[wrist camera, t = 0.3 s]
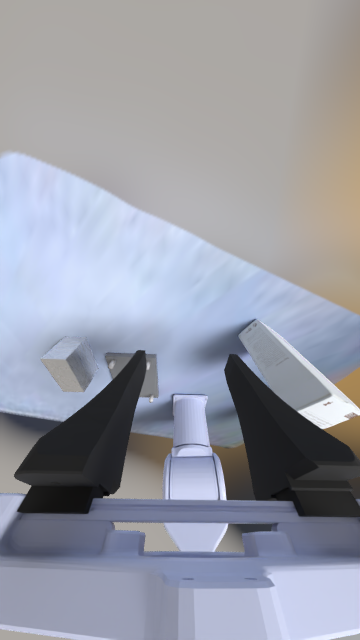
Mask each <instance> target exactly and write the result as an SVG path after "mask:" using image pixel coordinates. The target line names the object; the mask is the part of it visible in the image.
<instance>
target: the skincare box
mask: <svg viewBox="0 0 360 640" xmlns="http://www.w3.org/2000/svg"><path fill="white" fill-rule="evenodd" d="M238 337H239V339H240V340H241V342H242V343H243V345H244V346H245V348H246V350H247V351H248V353H249V354H250V356H251V357H252V359H253V361H254V362H255V364H256V365H257V367H258V369H259V370H260V372H261V373H262V375H263V376H264V378H265V380H266V381H267V383H268V384H269V386H270V387H271V389H272V391H273V392H274V393H275V394H276V395H277V396H279V397H280V398H281V399H282V400H283V401H284V402H286V403H287V404H288V405H289V406H291V407H292V408H293V409H295V410H296V411H297V412H299V413H300V414H301V415H303V416H304V417H305V418H307V419H308V420H309V421H311V422H312V423H314V424H315V425H317V426H318V427H319V428H321V429H324V428H327V427H330V426H333V425H336V424H338V423H341V422H343V421H346V420H349V419H351V418H354V417H356V416H358V415H360V409H359V408H358V407H357V406H356V405H355V404H354V403H353V402H352V401H351V400H350V399H349V398H347V397H346V396H345V395H344V394H343V393H342V392H341V391H340V390H339V389H338V388H337V387H336V386H335V385H333V384H332V383H331V382H330V381H329V380H328V379H327V378H326V377H325V376H324V375H323V374H322V373H321V372H319V371H318V370H317V369H316V368H315V367H314V366H313V365H312V364H311V363H310V362H309V361H307V360H306V359H305V358H304V357H303V356H302V355H301V354H300V353H299V352H298V351H297V350H296V349H294V348H293V347H292V346H291V345H290V344H289V343H288V342H287V341H286V340H285V339H284V338H283V337H281V336H280V335H279V334H278V333H276V332H275V331H274V330H272V329H271V328H269V327H268V326H267V325H265V324H264V323H263V322H261V321H260V320H258V319H256V320H255V321H254V322H252V323H251V324H250V325H249V326H248V327H246V328H245V329H244V330H243V331H242V332H241V333H240V334H239V335H238Z"/></svg>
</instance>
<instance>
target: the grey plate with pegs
mask: <svg viewBox="0 0 360 640" xmlns="http://www.w3.org/2000/svg"><path fill="white" fill-rule="evenodd" d="M133 355H134V354H123V353H107V354H106V356H105V357H106V360H107V363H108V368H109V369H110V372H111V375H112V378H113V379H114V378H115V377H116V376H117V375H118V374H119V373H120V371H121V370H122V369H123V368H124V367H125V366H126V364H127V363H128V362H129V361H130V359H131V358H132V357H133ZM146 364H147V369H146V374H145V379H144V382H143V386H142V389H141V392H140V395H139V397H150V399H149V402H150V403H152V402H153V398H158V396H159V391H158V376H157V360H156V355H151V354H146Z"/></svg>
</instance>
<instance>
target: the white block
mask: <svg viewBox="0 0 360 640" xmlns="http://www.w3.org/2000/svg"><path fill="white" fill-rule="evenodd" d="M40 359H41V361H42V362H43V364H44V365H45V366H46V368H47V369H48V371H49V372H50V373H51V375H52V376H53V378H54V379H55V380H56V382H57V383H58V385H59V386H60V388H61V389H62V390H63V391H64V392H84V391H85V390H86V388H87V387H88V385H89V383H90V382H91V380H92V379H93V377H94V375H95V374H96V372H97V370H98V369H99V368H98V365H97V363H96V360H95V358H94V355H93V353H92V350H91V348H90V345H89V343H88V340H87V338H86V337H66V336H65V337H64V338H63V339H62V340H61V341H60V342H58V343H57V344H56V345H55V346H54V347H53V348H52V349H50V350H49V351H48V352H47V353H46V354H45V355H44V356H42V357H41V358H40Z"/></svg>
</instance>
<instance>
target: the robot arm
mask: <svg viewBox="0 0 360 640" xmlns="http://www.w3.org/2000/svg"><path fill="white" fill-rule="evenodd" d="M146 369H147V364H146V354H145V351H143V350H138V351H136V353H135V354H134V355H133V357H132V358H131V359H130V361H129V362H128V363H127V364H126V366H125V367H124V368H123V369H122V370H121V371H120V373H119V374H118V375H117V376H116V377H115V378H114V379H113V380H112V381H111V382H110V383H109V384H108V385H107V386H106V387H105V388H104V389H103V390H102V391H101V392H100V393H99V394H98V395H96V396H95V397H94V398H93V399H92V400H91V401H90V402H88V403H87V404H86V405H85V406H84V407H82V408H81V409H80V410H78V411H77V412H76V413H75V414H73V415H72V416H71V417H69V418H68V419H67V420H65V421H64V422H63V423H61V424H60V425H59V426H57V427H56V428H54V429H53V430H51V431H50V432H48V433H47V434H46V435H44V436H43V437H41V438H40V439H39V440H38V442H37V443H36V444H35V445H34V447H33V448H32V449H31V451H30V452H29V454H28V455H27V457H26V458H25V459H24V461H23V462H22V464H21V465H20V467H19V468H18V469H17V471H16V472H15V474H14V477H15V478H16V479H17V480H19V481H22V482H24V483H27V484H29V485H31V488H30V490H29V491H28V493H27V494H19V493H0V629H4V630H10V631H18V632H25V633H32V634H39V635H46V636H53V637H61V638H68V639H75V640H329V639H334V638H339V637H344V636H349V635H354V634H359V633H360V499H356V500H355V498H354V497H353V495H352V494H351V492H350V491H353V488H352V487H351V485H350V484H349V482H348V481H347V480H350V479H353V478H356V477H359V476H360V460H359V459H358V458H357V456H356V455H355V454H354V453H353V451H352V450H351V449H350V448H349V447H348V446H347V445H346V444H344V443H342V442H341V441H339V440H338V439H336V438H335V437H333V436H332V435H330V434H328V433H327V432H325V431H324V430H322V429H321V428H319V427H318V426H317V425H315V424H314V423H312V422H311V421H309V420H308V419H307V418H305V417H304V416H303V415H301V414H300V413H299V412H297V411H296V410H295V409H293V408H292V407H291V406H289V405H288V404H287V403H286V402H284V401H283V400H282V399H281V398H280V397H279V396H277V395H276V394H275V393H274V392H273V391H272V390H271V389H270V388H268V387H267V386H266V385H265V384H264V383H263V382H262V381H261V380H260V379H259V378H258V377H257V376H256V375H255V374H254V373H253V372H252V371H251V369H250V368H249V367H248V366H247V365H246V364H245V363H244V362H243V361H242V360H241V359H240V357H239V356H238V355H236V354H230V355H229V358H228V361H227V364H226V367H225V370H224V371H225V376H226V381H227V384H228V387H229V390H230V393H231V396H232V399H233V402H234V405H235V408H236V411H237V414H238V417H239V422H240V426H241V430H242V434H243V438H244V443H245V448H246V452H247V457H248V462H249V468H250V474H251V479H252V485H253V491H254V495H255V498H256V501H239V500H226V492H225V484H224V477H223V472H222V467H221V463H220V459H219V457H218V456H217V455H216V454H215V453H212V448H211V447H210V444H209V437H208V430H207V422H206V415H205V406H206V402H207V398H208V397H207V396H206V395H174V396H173V416H174V442H173V448H172V454H168V456H167V457H166V459H165V464H164V473H163V499H105V498H103V496H109V495H110V494H114V493H115V492H116V491H117V490H118V489H119V487H120V482H121V477H122V472H123V466H124V460H125V456H126V450H127V445H128V440H129V435H130V431H131V426H132V421H133V417H134V412H135V409H136V405H137V402H138V399H139V395H140V392H141V389H142V386H143V382H144V379H145V374H146ZM112 522H142V523H144V522H145V523H152V522H153V523H164V527H165V530H166V531H167V533H168V534H169V536H170V537H171V539H172V540H173V542H174V543H175V545H176V546H177V548H178V549H179V551H159V552H158V551H154V552H153V551H150V552H149V551H147V552H146V551H145V552H144V542H145V533H143V532H140V531H125V530H124V531H123V530H115V526H114V523H112ZM228 523H237V524H244V523H245V524H273V525H272V531H271V532H253V533H243V534H242V539H243V543H244V548H245V552H215V549H216V548H217V546H218V544H219V543H220V541H221V539H222V537H223V536H224V534H225V532H226V530H227V527H228Z"/></svg>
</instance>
